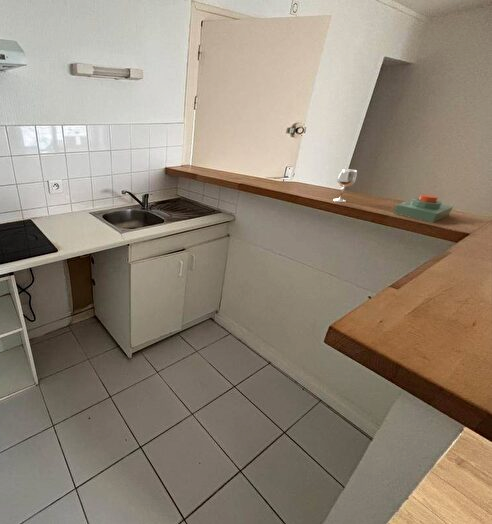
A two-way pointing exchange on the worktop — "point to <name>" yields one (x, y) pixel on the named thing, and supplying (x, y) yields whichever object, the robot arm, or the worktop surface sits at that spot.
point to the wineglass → (346, 181)
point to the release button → (428, 198)
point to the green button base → (423, 210)
